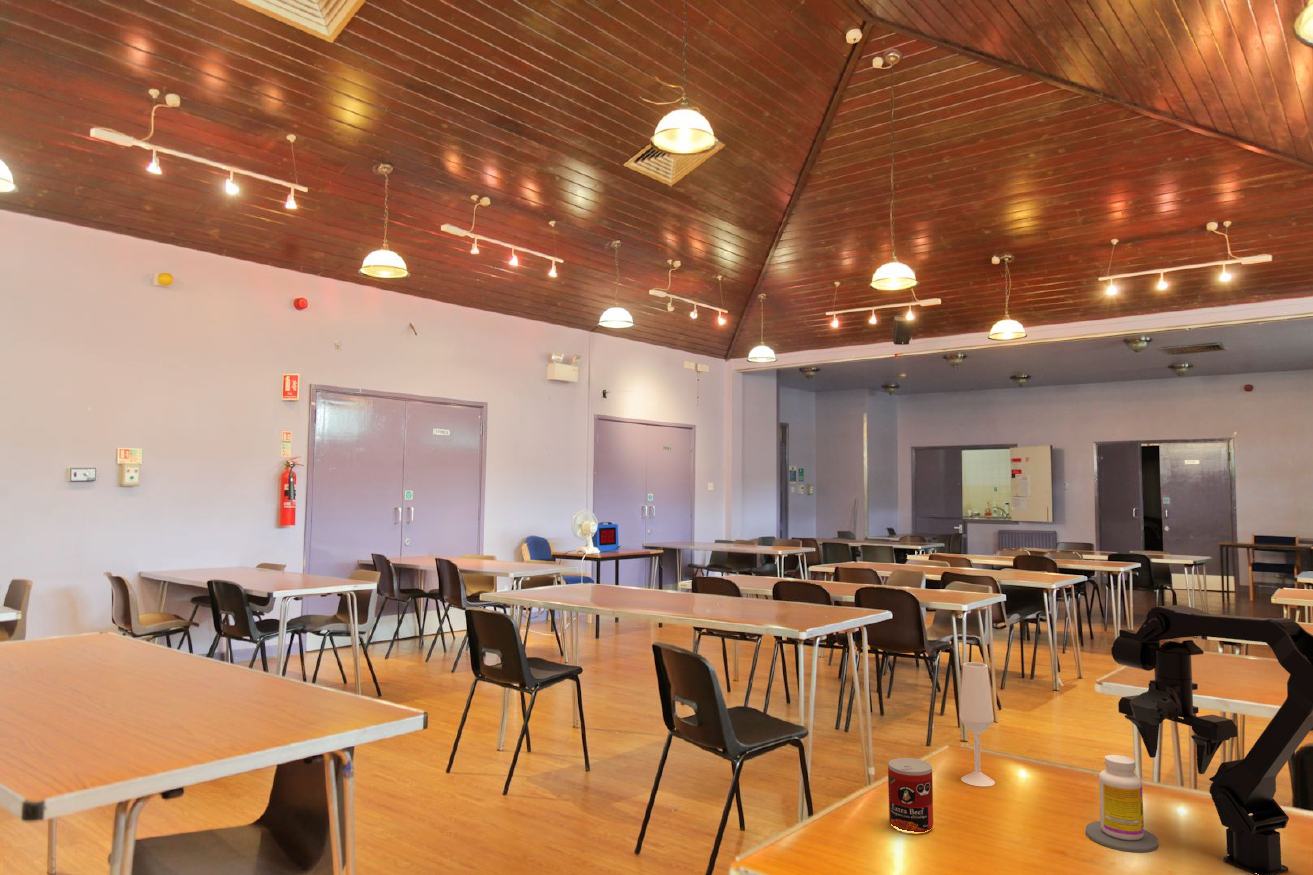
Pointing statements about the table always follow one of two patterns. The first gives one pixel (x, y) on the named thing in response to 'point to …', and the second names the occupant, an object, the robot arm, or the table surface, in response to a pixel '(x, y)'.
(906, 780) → the canned food
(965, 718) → the champagne flute
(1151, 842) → the slate coaster
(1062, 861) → the table surface
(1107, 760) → the supplement bottle
